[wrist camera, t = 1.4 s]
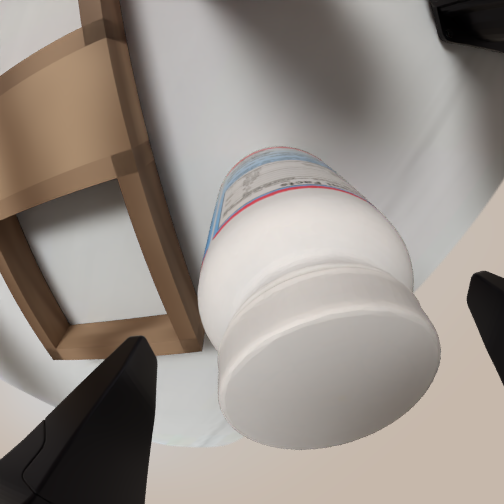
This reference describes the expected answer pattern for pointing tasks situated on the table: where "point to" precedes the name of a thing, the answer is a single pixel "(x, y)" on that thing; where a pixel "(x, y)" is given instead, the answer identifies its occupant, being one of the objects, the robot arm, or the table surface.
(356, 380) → the pill bottle
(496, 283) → the robot arm
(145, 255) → the caddy
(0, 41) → the table surface
